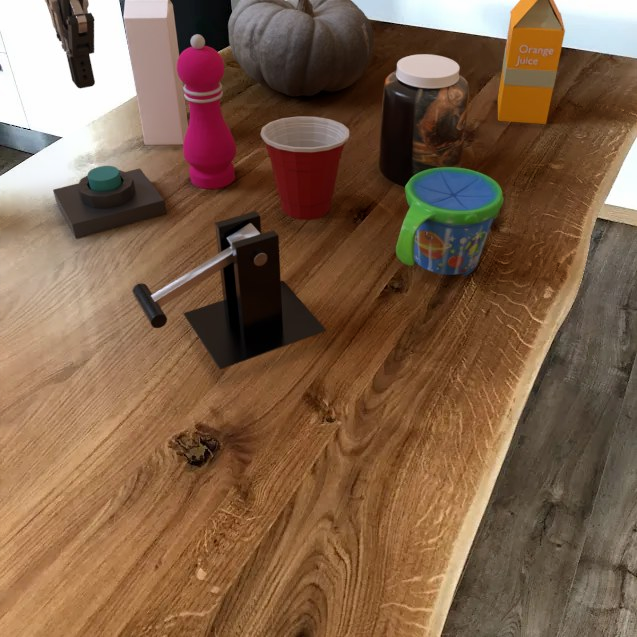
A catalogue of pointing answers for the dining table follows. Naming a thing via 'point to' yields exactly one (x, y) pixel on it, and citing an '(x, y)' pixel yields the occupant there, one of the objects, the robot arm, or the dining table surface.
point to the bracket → (251, 300)
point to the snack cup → (448, 219)
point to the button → (104, 178)
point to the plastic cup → (305, 162)
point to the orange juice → (530, 61)
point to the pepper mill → (206, 117)
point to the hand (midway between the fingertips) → (84, 84)
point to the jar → (422, 117)
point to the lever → (186, 280)
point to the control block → (109, 204)
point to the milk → (156, 70)
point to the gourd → (301, 43)
